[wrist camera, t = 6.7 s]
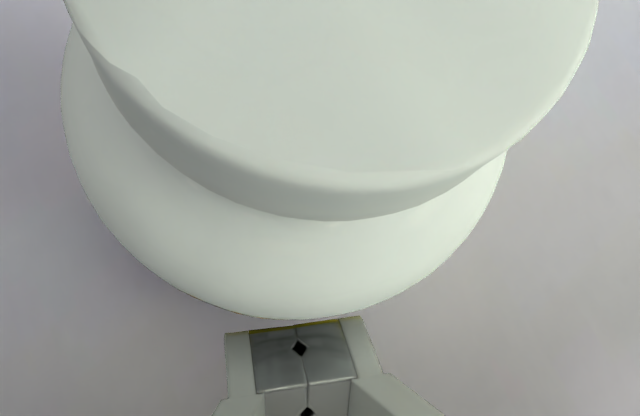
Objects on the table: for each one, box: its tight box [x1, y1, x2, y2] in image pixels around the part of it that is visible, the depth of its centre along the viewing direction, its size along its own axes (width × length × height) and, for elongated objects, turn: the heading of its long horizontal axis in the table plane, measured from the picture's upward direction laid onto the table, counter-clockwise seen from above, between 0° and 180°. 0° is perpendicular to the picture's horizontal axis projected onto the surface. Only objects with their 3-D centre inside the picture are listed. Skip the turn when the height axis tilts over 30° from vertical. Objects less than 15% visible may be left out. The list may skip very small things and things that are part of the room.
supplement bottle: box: [61, 0, 599, 320], centre depth 10 cm, size 7×7×13 cm
